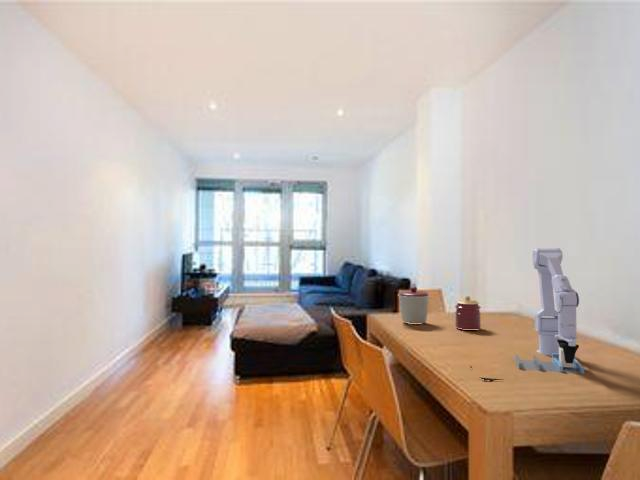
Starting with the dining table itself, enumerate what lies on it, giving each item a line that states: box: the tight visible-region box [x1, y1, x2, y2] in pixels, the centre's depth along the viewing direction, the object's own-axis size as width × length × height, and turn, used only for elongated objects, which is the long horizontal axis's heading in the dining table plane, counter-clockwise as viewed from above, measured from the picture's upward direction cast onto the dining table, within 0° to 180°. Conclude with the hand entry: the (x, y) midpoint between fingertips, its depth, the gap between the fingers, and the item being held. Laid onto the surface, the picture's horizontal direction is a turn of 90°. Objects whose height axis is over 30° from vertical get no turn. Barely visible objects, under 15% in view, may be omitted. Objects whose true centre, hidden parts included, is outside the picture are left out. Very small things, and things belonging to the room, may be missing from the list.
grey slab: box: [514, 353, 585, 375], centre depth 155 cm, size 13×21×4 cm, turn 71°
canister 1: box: [397, 286, 431, 324], centre depth 239 cm, size 18×18×21 cm
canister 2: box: [454, 295, 482, 330], centre depth 223 cm, size 13×13×18 cm
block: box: [559, 347, 574, 368], centre depth 153 cm, size 4×4×6 cm
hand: (567, 361), depth 153 cm, fingers closed on block, 4 cm apart
